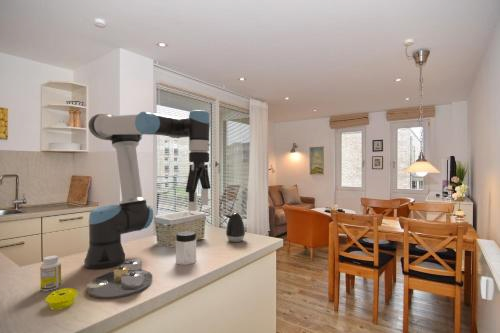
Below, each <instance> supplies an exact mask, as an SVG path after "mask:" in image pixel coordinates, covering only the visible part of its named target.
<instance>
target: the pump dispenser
mask: <svg viewBox="0 0 500 333" xmlns="http://www.w3.org/2000/svg"><path fill="white" fill-rule="evenodd" d="M225 217H226V218H228V221H227V224H226V229H225V230H226V231H225V234H226V237H227V238H226V239H228V241H230V243H231V242H232V243H239V242H242V241H243V239H245V235H246V229H245V224H244V221H243V218H242V216H241V214H240V213H238V212H233V213H232V214H231V215H229V214H226V215H225Z"/></svg>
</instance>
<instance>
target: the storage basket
mask: <svg viewBox="0 0 500 333" xmlns="http://www.w3.org/2000/svg"><path fill="white" fill-rule="evenodd" d="M206 217H207V215H206V212H205V211H204V212H202V211H197V210H196V211H188V209H187V210H182V211H175V212H168V213H163V214H155V215H153V223H154V227H155V228H154V230H155V236H156V243H157V244H160V245H162V246H165V247H168V248H176V234H177V233H178V232H182V231H194V232H196V241H199V240H203V239H205V233H206V232H205V228H206V220H207V219H206Z"/></svg>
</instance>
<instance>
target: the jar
mask: <svg viewBox="0 0 500 333" xmlns="http://www.w3.org/2000/svg"><path fill="white" fill-rule="evenodd" d="M196 261H197V240H196V232H194V231H182V232H178V233H177V234H176V247H175V264H177V265H183V266H185V265H186V266H187V265H191V264H195V263H196Z"/></svg>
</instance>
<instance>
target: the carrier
mask: <svg viewBox="0 0 500 333" xmlns="http://www.w3.org/2000/svg"><path fill="white" fill-rule="evenodd" d="M152 283H153V274H152V273H151V272H150V271H149V270H145V269H143V261H142V259H130V260H125V261H124V262H123V263H121V264H120V265H118V266H117V267H115V268H113V271H110V272H107V273H104V274H101V275H99V276H97V277H95V278H93V279H92V280H90V282H88V284H87V285H86V293H87V295H88V296H89V297H91V298H93V299H99V300H113V299H114V300H115V299H119V298H121V299H122V298H125V297H129V296H132V295H135V294H138V293H140V292H143V291H144V290H146V289H147V288H148V287H149V286H151V285H152Z"/></svg>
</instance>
